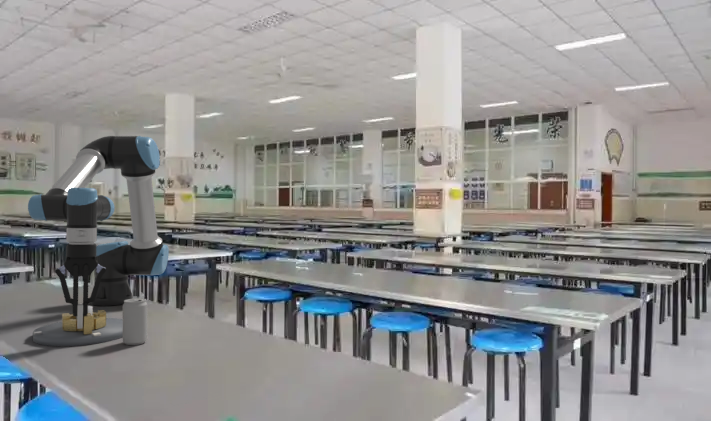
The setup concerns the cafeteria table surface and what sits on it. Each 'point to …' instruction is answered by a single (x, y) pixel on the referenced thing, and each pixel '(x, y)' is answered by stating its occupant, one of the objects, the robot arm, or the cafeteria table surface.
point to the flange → (78, 333)
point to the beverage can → (134, 321)
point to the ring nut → (84, 322)
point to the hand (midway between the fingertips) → (80, 327)
